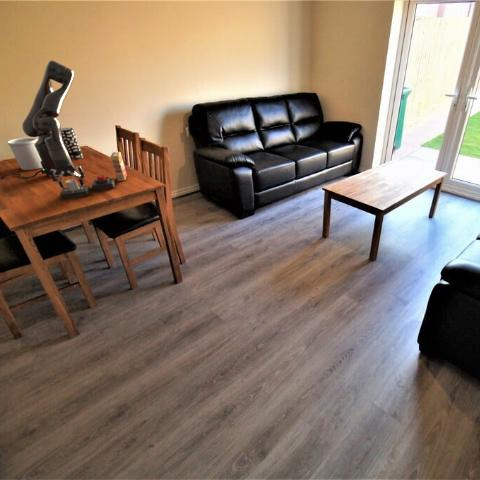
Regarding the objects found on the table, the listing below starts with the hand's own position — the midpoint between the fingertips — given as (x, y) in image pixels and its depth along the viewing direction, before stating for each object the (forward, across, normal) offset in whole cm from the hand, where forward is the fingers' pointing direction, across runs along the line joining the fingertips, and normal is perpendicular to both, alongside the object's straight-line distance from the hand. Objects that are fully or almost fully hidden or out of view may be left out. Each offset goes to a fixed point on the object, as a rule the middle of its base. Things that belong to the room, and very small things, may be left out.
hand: (73, 186), depth 176 cm
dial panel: (+5, 0, 0) cm, 5 cm away
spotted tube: (+5, +9, -75) cm, 76 cm away
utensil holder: (+5, +31, -64) cm, 71 cm away
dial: (+2, 0, 0) cm, 2 cm away
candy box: (+5, -22, -17) cm, 28 cm away
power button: (0, -13, -6) cm, 14 cm away
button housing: (+5, -13, -6) cm, 15 cm away
